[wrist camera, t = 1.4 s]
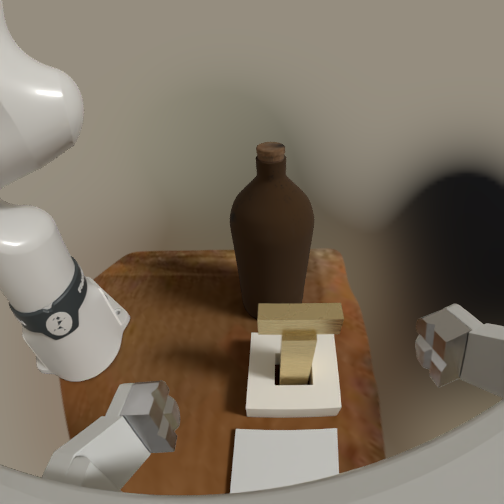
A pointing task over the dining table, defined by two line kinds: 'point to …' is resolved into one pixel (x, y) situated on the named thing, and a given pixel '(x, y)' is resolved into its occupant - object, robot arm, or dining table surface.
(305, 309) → the t key
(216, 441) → the dining table surface
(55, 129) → the robot arm
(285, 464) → the white mat
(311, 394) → the socket block
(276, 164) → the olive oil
